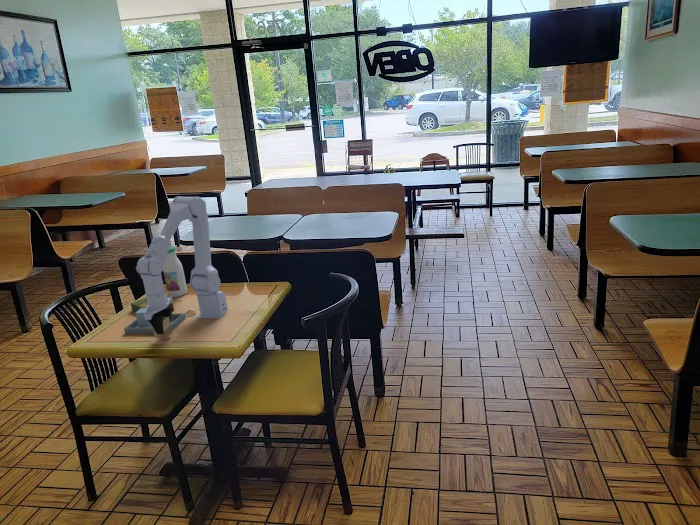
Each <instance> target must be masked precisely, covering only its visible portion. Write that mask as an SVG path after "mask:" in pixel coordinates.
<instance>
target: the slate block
mask: <svg viewBox="0 0 700 525" xmlns="http://www.w3.org/2000/svg"><path fill="white" fill-rule="evenodd" d="M147 309H148V308H141V309H140V310H138V311H137V312H135V317H136V319H137V322H138V327H139V328H150V327H152V325H151V324H150V323H149V322H148V321H147V320H145V319H144V315H143V314H145V312H146V311H147Z"/></svg>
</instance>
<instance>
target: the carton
mask: <svg viewBox="0 0 700 525" xmlns="http://www.w3.org/2000/svg"><path fill="white" fill-rule="evenodd" d="M147 305H148V301H147V296H146V297H143V298H141V299H139V300H137V301H134V302H131V303H130V306H131V307H130V308H131V311H132V312H133V313H134V312H135V313H136V312H137V311H138V310H140V309H141V308H146V306H147ZM169 306H173V310H172V313H173V312H174V311H175V307H174V303H173V302H172V303H169Z"/></svg>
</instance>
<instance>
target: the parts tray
mask: <svg viewBox="0 0 700 525" xmlns="http://www.w3.org/2000/svg"><path fill="white" fill-rule="evenodd" d="M184 320H186V314H185V313H184V312H183V313H181V312H180V313H178V312H177V313H173V312H172V314H171V323H170V324H171V329H172V332H173V331H174V330H175V329H176V328H177V327H179V325H180V324H182V323H183V321H184ZM123 330H124V334H125V335H154V331H153V327H150V328H139V327H138V322H137V318H136V319H134V320H133V321H132V322H131V323H129V324H128V325H127V326H125V327H124V328H123Z"/></svg>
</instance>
